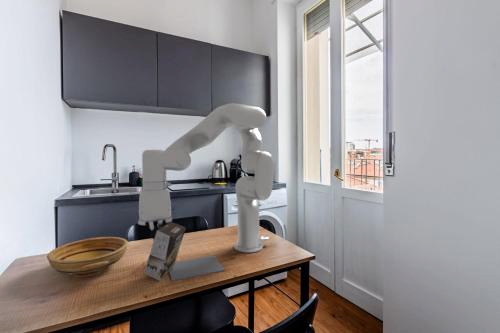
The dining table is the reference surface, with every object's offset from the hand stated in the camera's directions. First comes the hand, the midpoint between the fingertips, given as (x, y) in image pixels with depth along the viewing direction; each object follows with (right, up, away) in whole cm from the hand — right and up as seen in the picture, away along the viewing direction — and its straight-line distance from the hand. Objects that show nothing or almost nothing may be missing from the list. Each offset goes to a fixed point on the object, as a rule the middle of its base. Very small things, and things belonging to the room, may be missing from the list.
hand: (155, 240), depth 84 cm
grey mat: (+12, -12, +6) cm, 18 cm away
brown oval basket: (-25, -12, +5) cm, 28 cm away
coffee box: (+1, -11, +1) cm, 11 cm away
